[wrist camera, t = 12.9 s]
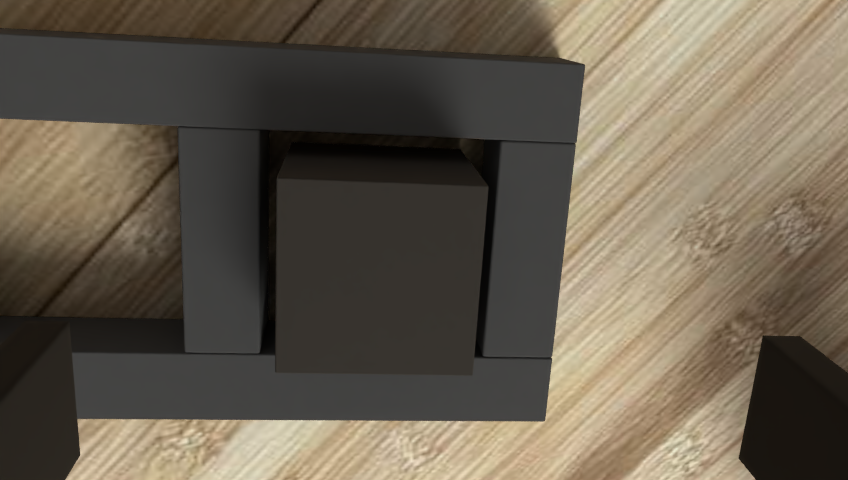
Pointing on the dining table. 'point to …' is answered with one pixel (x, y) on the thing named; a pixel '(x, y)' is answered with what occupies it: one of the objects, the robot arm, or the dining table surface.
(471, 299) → the dark grey cube
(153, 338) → the base frame
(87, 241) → the dining table surface
